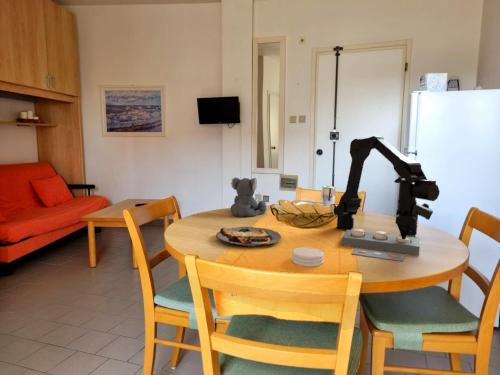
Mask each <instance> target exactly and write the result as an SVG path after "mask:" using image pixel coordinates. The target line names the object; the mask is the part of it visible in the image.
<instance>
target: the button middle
mask: <svg viewBox="0 0 500 375" xmlns="http://www.w3.org/2000/svg"><path fill="white" fill-rule="evenodd" d="M373 233H374V239H383V240H387V234H388V233H387V231H381V230H376V231H374V232H373Z"/></svg>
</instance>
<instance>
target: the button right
mask: <svg viewBox="0 0 500 375" xmlns="http://www.w3.org/2000/svg"><path fill="white" fill-rule="evenodd" d="M397 241H399V242H407V243H410V239H409V238H406V239H402V237H398V238H397Z"/></svg>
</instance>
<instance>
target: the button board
mask: <svg viewBox="0 0 500 375" xmlns="http://www.w3.org/2000/svg"><path fill="white" fill-rule="evenodd" d="M398 237H401V235H398V234H396V235H395V234H388V233H387V240H383V239H374V232H372V231H371V232H370V231H364V237H358V236H352V229H351V230H345V232H344V233H343V235H342V236H341V246H346V245H351V246H350V247H353V248H360V249H368V250H375V251H383V252H390V253H398V254H407V255H414V256H420V247H421V246H420V240H419V237H416V236H414V237H407V236H406V238H409V239H410V243H407V242H399V241H397V238H398Z"/></svg>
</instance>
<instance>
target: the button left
mask: <svg viewBox="0 0 500 375" xmlns="http://www.w3.org/2000/svg"><path fill="white" fill-rule="evenodd" d="M351 230H352V236H358V237H364V232H365V230H364V229H362V228H352V229H351Z"/></svg>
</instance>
